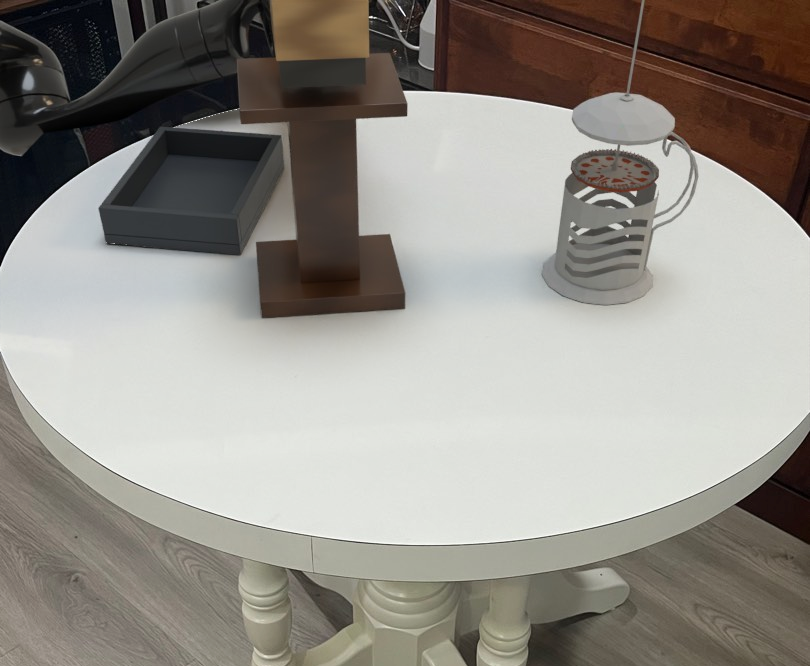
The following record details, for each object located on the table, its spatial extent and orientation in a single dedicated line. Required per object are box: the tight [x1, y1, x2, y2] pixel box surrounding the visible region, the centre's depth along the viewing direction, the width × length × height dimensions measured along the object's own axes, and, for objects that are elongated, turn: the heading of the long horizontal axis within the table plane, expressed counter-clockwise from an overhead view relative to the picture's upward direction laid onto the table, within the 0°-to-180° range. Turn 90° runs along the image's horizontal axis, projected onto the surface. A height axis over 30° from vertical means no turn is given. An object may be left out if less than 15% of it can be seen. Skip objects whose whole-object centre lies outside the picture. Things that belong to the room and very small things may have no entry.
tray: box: [97, 126, 285, 256], centre depth 95 cm, size 18×13×4 cm
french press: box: [541, 0, 699, 306], centre depth 79 cm, size 10×12×25 cm
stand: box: [236, 52, 409, 319], centre depth 80 cm, size 12×10×17 cm
